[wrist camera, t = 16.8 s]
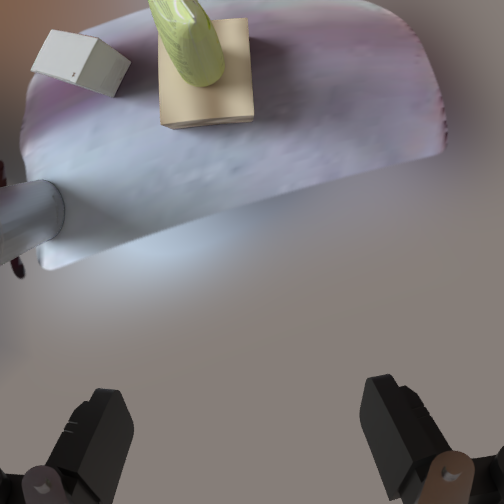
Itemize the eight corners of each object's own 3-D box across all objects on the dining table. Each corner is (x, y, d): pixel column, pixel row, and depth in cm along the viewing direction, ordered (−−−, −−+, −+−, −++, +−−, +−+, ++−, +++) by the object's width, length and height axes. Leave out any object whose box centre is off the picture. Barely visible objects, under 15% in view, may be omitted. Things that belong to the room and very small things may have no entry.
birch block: (172, 129, 36) (160, 124, 30) (169, 44, 32) (158, 28, 27) (252, 121, 36) (254, 115, 30) (246, 36, 33) (247, 17, 27)
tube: (237, 54, 28) (232, -52, 10) (221, 95, 30) (194, 17, 11) (188, 42, 28) (135, -60, 9) (172, 82, 29) (94, 7, 10)
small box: (132, 62, 33) (100, 37, 23) (114, 99, 34) (76, 84, 24) (88, 49, 32) (51, 27, 22) (71, 84, 33) (29, 70, 23)
